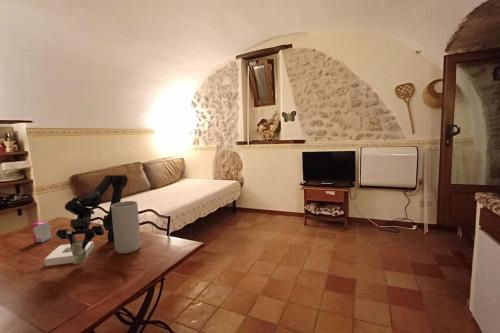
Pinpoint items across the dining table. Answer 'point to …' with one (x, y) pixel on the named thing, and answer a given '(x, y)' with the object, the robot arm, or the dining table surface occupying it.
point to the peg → (78, 252)
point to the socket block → (64, 254)
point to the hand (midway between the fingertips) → (77, 249)
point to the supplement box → (41, 231)
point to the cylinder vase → (126, 226)
